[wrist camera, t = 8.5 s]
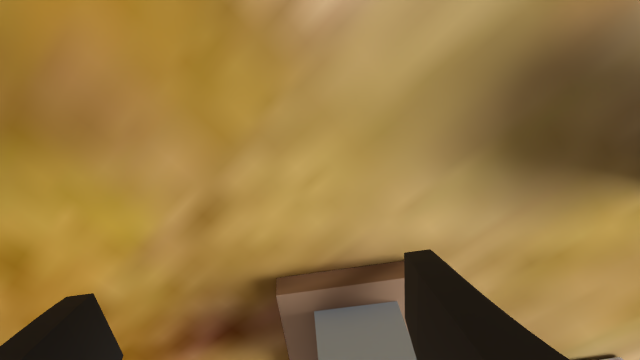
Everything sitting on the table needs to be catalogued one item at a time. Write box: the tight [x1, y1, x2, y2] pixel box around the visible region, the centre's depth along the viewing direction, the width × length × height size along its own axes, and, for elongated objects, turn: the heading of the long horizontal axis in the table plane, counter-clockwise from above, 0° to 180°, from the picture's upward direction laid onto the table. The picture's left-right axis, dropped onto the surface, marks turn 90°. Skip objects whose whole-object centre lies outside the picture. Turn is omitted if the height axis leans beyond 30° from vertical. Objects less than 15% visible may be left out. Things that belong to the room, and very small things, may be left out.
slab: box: [276, 261, 409, 360], centre depth 23 cm, size 8×8×2 cm
